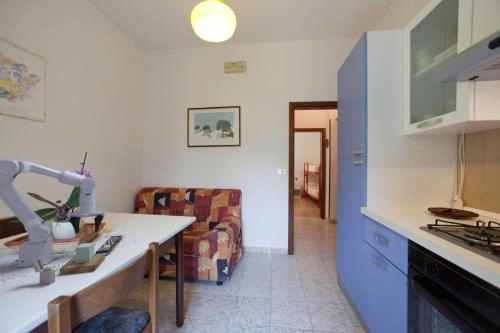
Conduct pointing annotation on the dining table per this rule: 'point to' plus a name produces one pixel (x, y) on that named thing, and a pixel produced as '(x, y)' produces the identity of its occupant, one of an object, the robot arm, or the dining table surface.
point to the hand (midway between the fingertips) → (87, 232)
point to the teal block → (84, 252)
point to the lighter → (44, 272)
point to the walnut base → (82, 265)
